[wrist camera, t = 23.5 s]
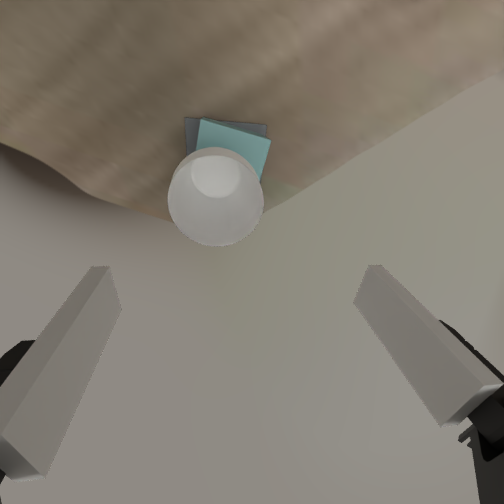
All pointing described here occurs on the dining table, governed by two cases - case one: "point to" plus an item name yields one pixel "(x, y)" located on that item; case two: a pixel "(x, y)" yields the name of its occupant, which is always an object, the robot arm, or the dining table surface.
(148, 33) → the dining table surface
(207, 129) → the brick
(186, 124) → the base mat
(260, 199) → the cup
